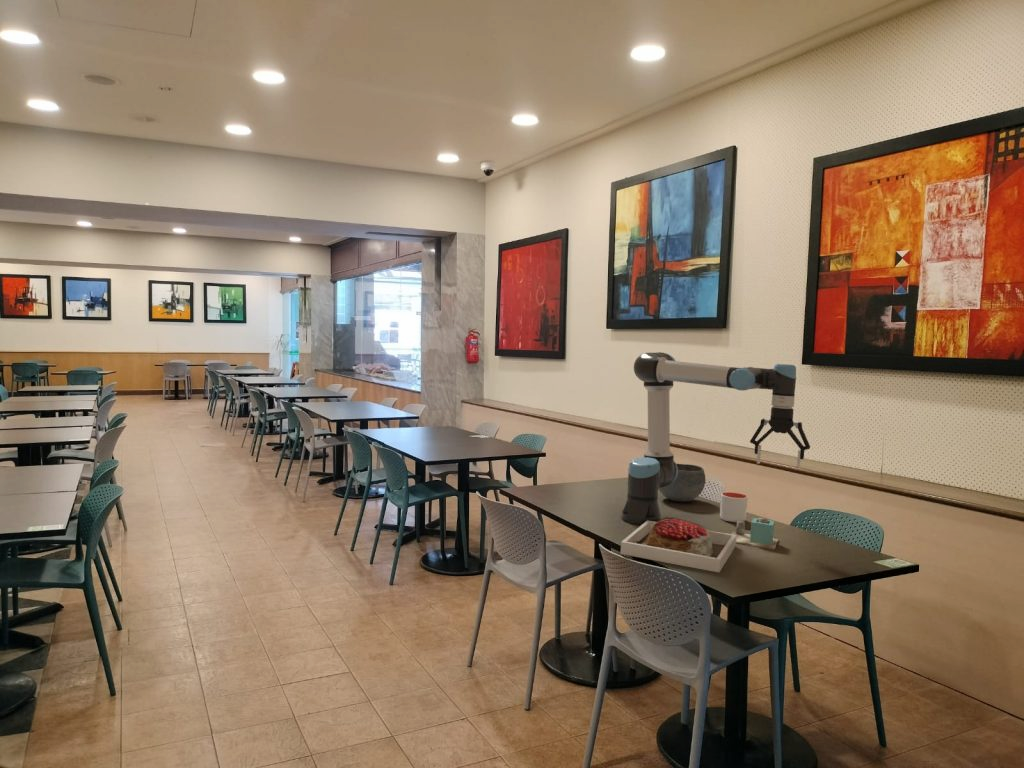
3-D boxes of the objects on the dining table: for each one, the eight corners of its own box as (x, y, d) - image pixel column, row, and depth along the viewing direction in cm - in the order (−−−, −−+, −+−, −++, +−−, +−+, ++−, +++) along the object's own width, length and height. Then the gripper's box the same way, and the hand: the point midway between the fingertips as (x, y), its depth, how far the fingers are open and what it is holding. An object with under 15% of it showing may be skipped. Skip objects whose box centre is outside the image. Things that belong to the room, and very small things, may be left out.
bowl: (709, 499, 312) (712, 466, 311) (694, 509, 294) (697, 473, 293) (664, 492, 323) (666, 459, 322) (647, 500, 306) (649, 466, 304)
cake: (628, 542, 244) (630, 513, 243) (694, 542, 248) (696, 514, 247) (652, 564, 221) (654, 533, 220) (724, 564, 225) (727, 533, 224)
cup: (747, 524, 274) (749, 499, 273) (720, 522, 276) (722, 496, 275) (744, 518, 284) (745, 493, 283) (718, 515, 285) (720, 491, 285)
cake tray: (620, 553, 230) (621, 541, 230) (646, 531, 258) (647, 520, 258) (719, 572, 216) (720, 559, 216) (735, 546, 244) (736, 535, 244)
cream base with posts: (726, 541, 250) (728, 517, 249) (732, 533, 260) (733, 510, 260) (774, 549, 243) (776, 525, 242) (778, 540, 253) (780, 517, 253)
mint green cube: (749, 541, 249) (751, 522, 248) (752, 536, 255) (754, 517, 254) (770, 545, 246) (772, 525, 245) (773, 540, 252) (774, 520, 251)
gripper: (744, 404, 256) (740, 462, 257) (819, 411, 244) (814, 471, 246) (748, 403, 262) (744, 459, 264) (821, 409, 251) (816, 468, 252)
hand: (778, 465), depth 255 cm, fingers open, 13 cm apart
